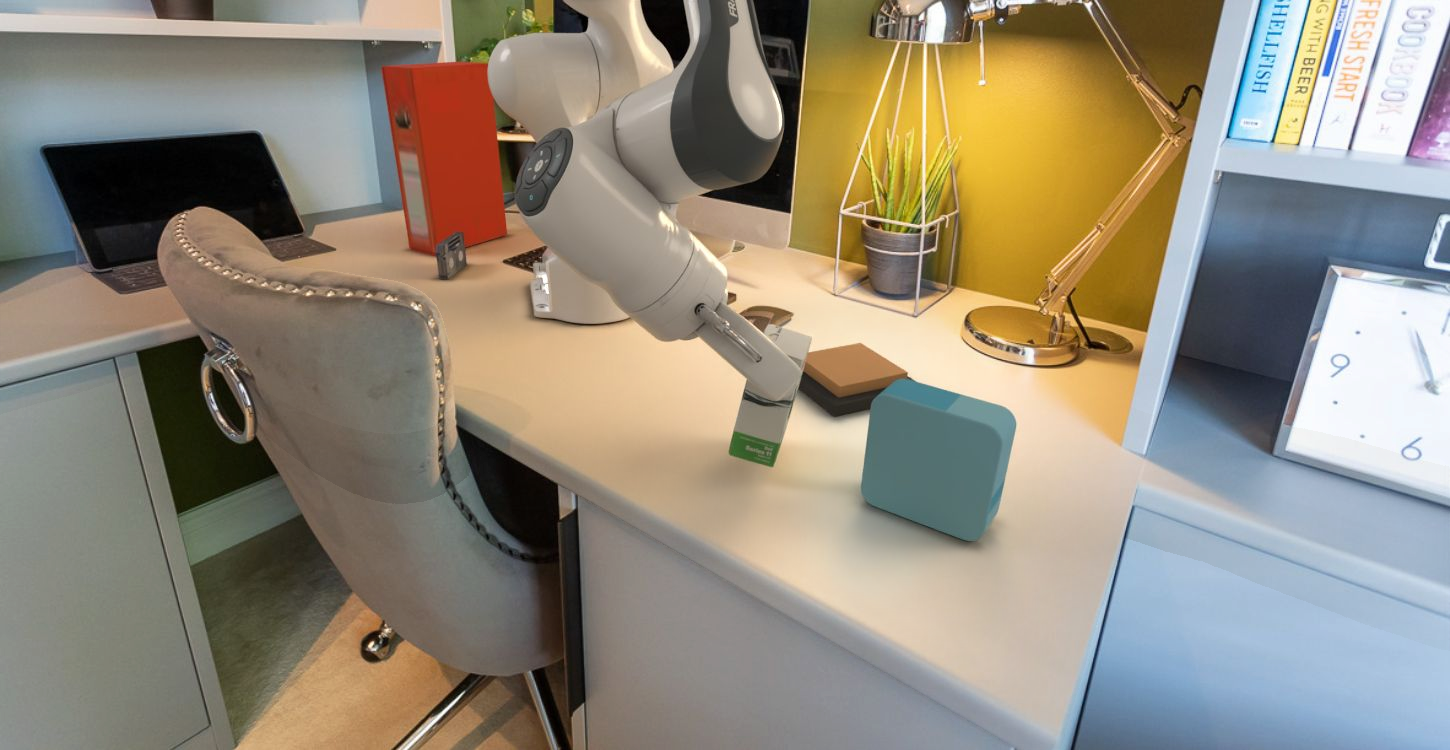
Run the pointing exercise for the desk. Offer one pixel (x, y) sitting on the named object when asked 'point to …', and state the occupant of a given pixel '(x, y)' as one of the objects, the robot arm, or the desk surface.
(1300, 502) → the desk surface
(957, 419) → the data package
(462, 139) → the file binder
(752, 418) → the ink box
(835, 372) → the pad stack
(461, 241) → the mini dv tape
